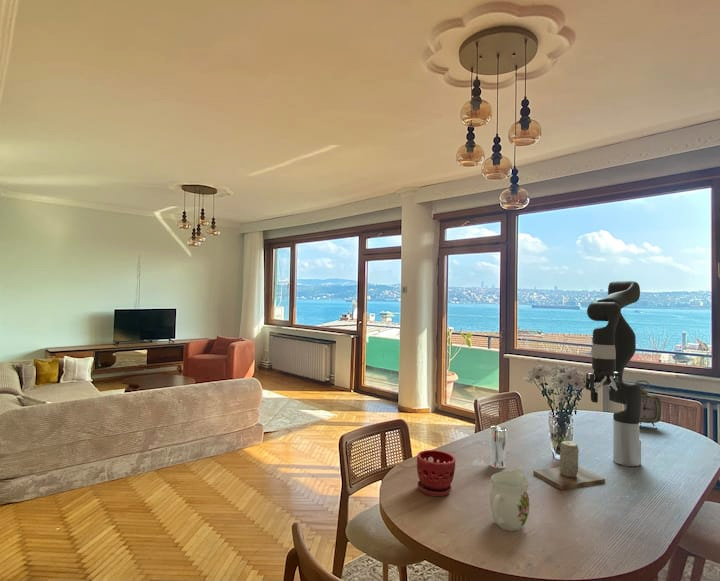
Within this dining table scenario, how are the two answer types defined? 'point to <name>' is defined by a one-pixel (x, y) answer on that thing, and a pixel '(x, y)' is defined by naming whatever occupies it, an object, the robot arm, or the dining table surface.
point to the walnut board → (568, 478)
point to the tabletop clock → (649, 407)
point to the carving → (569, 459)
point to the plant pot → (435, 472)
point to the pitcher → (509, 499)
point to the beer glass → (498, 446)
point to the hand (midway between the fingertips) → (603, 401)
